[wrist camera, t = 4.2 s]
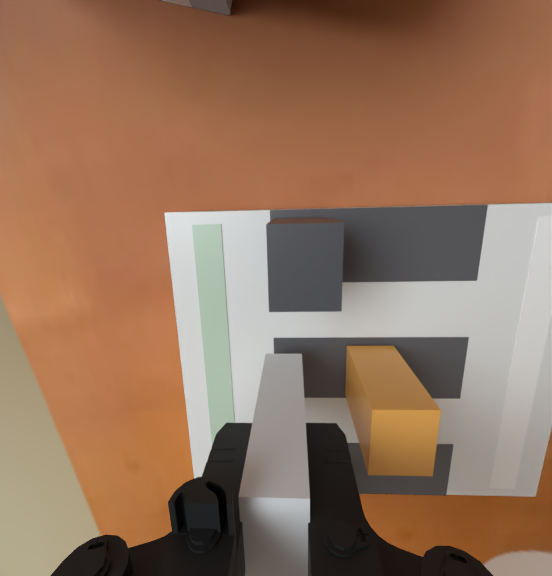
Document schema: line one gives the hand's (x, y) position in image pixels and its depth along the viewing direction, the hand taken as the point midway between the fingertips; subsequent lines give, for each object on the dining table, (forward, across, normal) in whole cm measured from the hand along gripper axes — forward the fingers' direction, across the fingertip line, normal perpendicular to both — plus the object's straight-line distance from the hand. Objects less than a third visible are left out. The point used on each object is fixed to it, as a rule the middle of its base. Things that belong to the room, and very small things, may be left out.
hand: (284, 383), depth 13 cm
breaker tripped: (+1, -4, 0) cm, 4 cm away
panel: (+4, -4, 0) cm, 6 cm away
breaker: (+1, -1, -6) cm, 6 cm away
